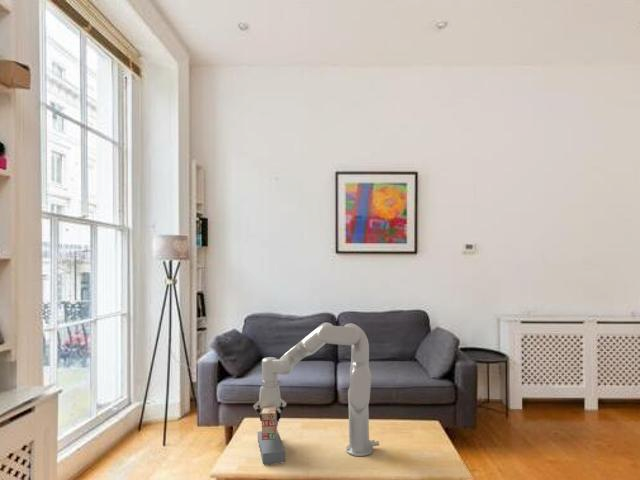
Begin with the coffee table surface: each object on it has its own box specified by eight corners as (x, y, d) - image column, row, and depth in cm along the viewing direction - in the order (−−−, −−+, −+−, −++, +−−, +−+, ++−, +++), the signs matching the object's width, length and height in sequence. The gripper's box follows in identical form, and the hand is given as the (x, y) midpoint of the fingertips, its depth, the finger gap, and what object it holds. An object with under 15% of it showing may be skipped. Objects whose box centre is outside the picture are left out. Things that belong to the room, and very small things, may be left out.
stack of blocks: (265, 422, 217) (265, 398, 218) (278, 422, 218) (278, 397, 218) (261, 440, 196) (261, 412, 197) (275, 439, 196) (275, 412, 197)
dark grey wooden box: (277, 439, 220) (277, 429, 220) (285, 462, 194) (285, 450, 195) (257, 441, 217) (257, 431, 217) (263, 465, 192) (262, 453, 192)
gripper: (286, 380, 213) (286, 416, 212) (251, 383, 209) (251, 420, 208) (288, 384, 206) (289, 422, 205) (252, 387, 202) (252, 426, 201)
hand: (270, 421), depth 207 cm, fingers closed on stack of blocks, 6 cm apart
